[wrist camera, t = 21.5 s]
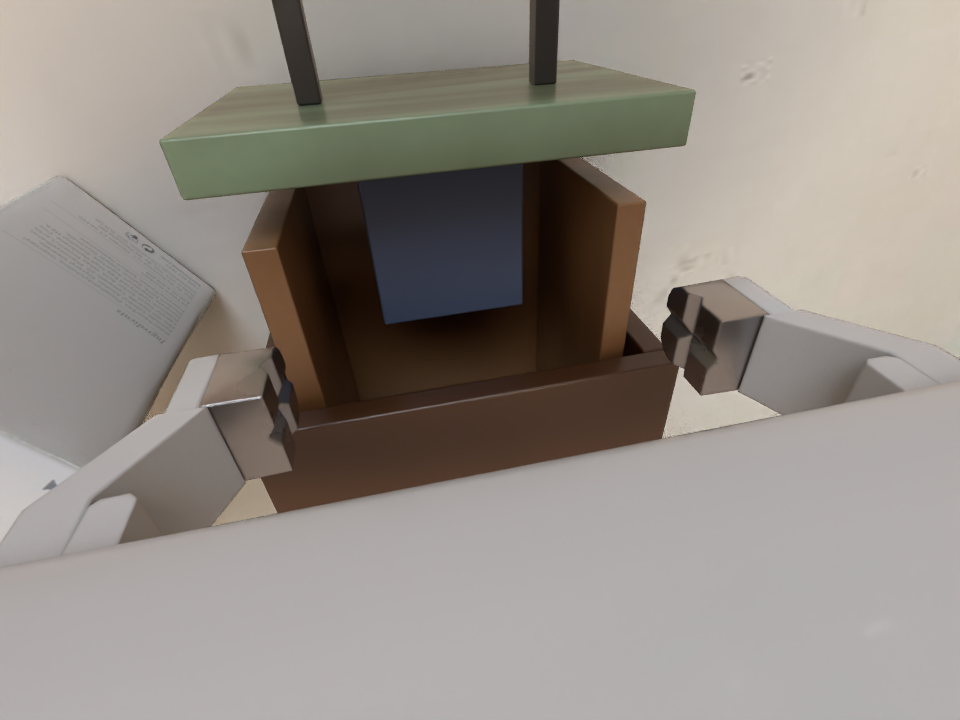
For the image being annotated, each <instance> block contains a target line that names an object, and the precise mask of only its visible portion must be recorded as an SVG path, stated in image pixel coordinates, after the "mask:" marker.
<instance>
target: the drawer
mask: <svg viewBox="0 0 960 720" xmlns="http://www.w3.org/2000/svg"><path fill="white" fill-rule="evenodd" d="M272 4H273V8H274V12H275V16H276V20H277V24H278V28H279V32H280V37H281V41H282V45H283V49H284V53H285V57H286V61H287V65H288V69H289V74H290V78H291V82H292V83H283V84H271V85H258V86H246V87H236V88H235V89H233V90H232V91H230V92H229V93H227V94H226V95H225V96H223V97H222V98H220V99H219V100H217V101H216V102H214V103H213V104H212V105H210V106H209V107H207V108H206V109H204V110H203V111H201V112H200V113H198V114H197V115H196V116H194V117H193V118H191V119H190V120H188V121H187V122H185V123H184V124H182V125H181V126H180V127H178V128H177V129H175V130H174V131H172V132H171V133H169V134H168V135H166V136H165V137H164V138H162V139H161V140H160V145H161V148H162V150H163V152H164V155H165V157H166V160H167V162H168V165H169V167H170V170H171V172H172V174H173V177H174V179H175V182H176V184H177V187H178V189H179V191H180V194H181V196H182V198H183V199H184V200H193V199H202V198H212V197H221V196H230V195H239V194H248V193H257V192H267V191H269V193H268V195H267V198H266V200H265V202H264V204H263V206H262V208H261V211H260V213H259V215H258V217H257V219H256V222H255V224H254V226H253V228H252V230H251V232H250V235H249V237H248V239H247V241H246V243H245V246H244V248H243V250H242V256H243V258H244V261H245V264H246V267H247V269H248V272H249V275H250V278H251V280H252V283H253V286H254V289H255V291H256V294H257V297H258V300H259V303H260V305H261V308H262V311H263V314H264V316H265V319H266V322H267V325H268V327H269V330H270V333H271V336H272V338H273V341H274V344H275V347H277V348H278V349H279V350H280V351H281V354H282V356H283V359H284V361H285V364H286V368H285V374H286V377H287V380H289V381H290V382H292V383H293V386H294V389H295V392H296V396H297V400H298V406H299V412H301V411H307V410H313V409H319V408H324V407H330V406H336V405H342V404H348V403H354V402H360V401H366V400H372V399H377V398H383V397H389V396H395V395H401V394H407V393H413V392H419V391H425V390H430V389H436V388H442V387H448V386H454V385H460V384H466V383H472V382H478V381H483V380H489V379H495V378H501V377H507V376H513V375H519V374H525V373H531V372H536V371H542V370H548V369H554V368H560V367H566V366H572V365H578V364H584V363H590V362H595V361H601V360H607V359H613V358H619V357H623V351H624V344H625V337H626V331H627V324H628V318H629V311H630V305H631V298H632V292H633V285H634V279H635V272H636V266H637V259H638V253H639V246H640V240H641V233H642V227H643V220H644V213H645V207H646V201H644V200H643V199H641V198H640V197H638V196H637V195H635V194H634V193H632V192H631V191H629V190H628V189H626V188H625V187H623V186H622V185H620V184H619V183H617V182H616V181H614V180H613V179H611V178H610V177H608V176H607V175H605V174H604V173H602V172H601V171H599V170H598V169H596V168H595V167H593V166H592V165H590V164H589V163H587V162H586V161H584V160H583V159H581V158H580V157H587V156H596V155H605V154H615V153H624V152H633V151H642V150H651V149H660V148H669V147H679V146H684V145H686V142H687V136H688V131H689V126H690V120H691V115H692V110H693V105H694V99H695V94H696V92H695V90H692V89H688V88H684V87H680V86H676V85H672V84H668V83H664V82H660V81H656V80H652V79H648V78H643V77H639V76H635V75H631V74H627V73H623V72H619V71H615V70H611V69H607V68H603V67H599V66H595V65H590V64H586V63H582V62H578V61H574V60H569V61H557V52H558V26H559V0H530V34H529V64H519V65H507V66H494V67H482V68H469V69H457V70H445V71H432V72H420V73H407V74H395V75H382V76H370V77H358V78H345V79H333V80H320V81H319V78H318V73H317V69H316V64H315V59H314V55H313V50H312V45H311V41H310V36H309V31H308V27H307V22H306V17H305V13H304V8H303V3H302V0H272ZM514 164H523V291H522V304H521V305H515V306H508V307H502V308H495V309H488V310H481V311H475V312H468V313H461V314H455V315H448V316H441V317H435V318H428V319H421V320H415V321H408V322H401V323H395V324H388V325H387V324H385V323H384V319H383V313H382V308H381V303H380V298H379V293H378V288H377V283H376V277H375V272H374V267H373V262H372V257H371V252H370V246H369V241H368V236H367V231H366V226H365V221H364V216H363V210H362V205H361V200H360V195H359V190H358V185H357V182H358V181H367V180H376V179H386V178H395V177H404V176H413V175H422V174H431V173H441V172H450V171H459V170H468V169H477V168H486V167H495V166H505V165H514Z"/></svg>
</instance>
